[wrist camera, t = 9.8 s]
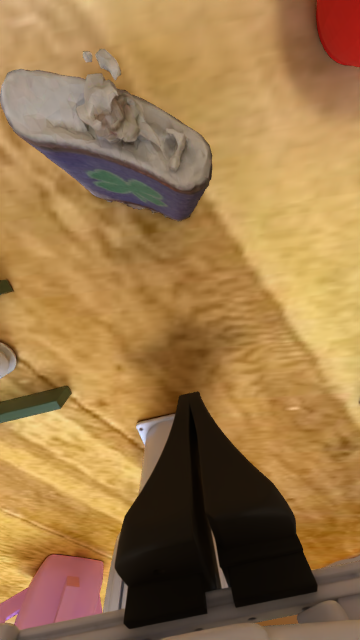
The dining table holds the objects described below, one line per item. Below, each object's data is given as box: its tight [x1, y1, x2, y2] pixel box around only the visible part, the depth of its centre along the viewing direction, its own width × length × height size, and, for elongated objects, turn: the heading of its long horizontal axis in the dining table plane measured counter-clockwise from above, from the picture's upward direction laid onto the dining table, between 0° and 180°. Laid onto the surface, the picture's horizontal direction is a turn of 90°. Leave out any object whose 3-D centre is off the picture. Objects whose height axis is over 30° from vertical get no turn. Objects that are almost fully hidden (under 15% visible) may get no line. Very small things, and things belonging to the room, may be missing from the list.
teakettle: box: [0, 554, 103, 630], centre depth 32 cm, size 17×17×12 cm
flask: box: [0, 49, 212, 221], centre depth 11 cm, size 9×3×11 cm, turn 76°
